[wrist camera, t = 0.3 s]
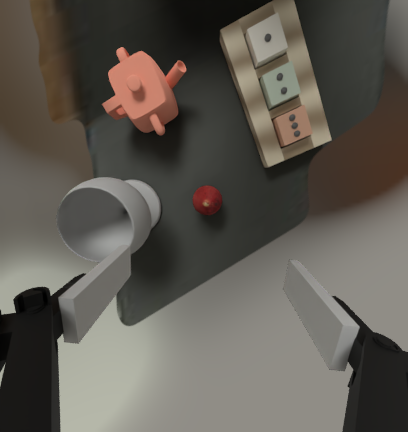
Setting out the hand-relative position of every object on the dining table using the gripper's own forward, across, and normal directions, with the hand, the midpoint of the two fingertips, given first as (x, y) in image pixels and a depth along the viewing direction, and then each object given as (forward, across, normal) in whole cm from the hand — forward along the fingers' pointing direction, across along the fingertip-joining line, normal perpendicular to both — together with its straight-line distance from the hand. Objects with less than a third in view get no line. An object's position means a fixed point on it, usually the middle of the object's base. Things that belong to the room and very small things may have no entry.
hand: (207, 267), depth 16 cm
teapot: (+27, -12, +19) cm, 35 cm away
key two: (+25, +10, +22) cm, 35 cm away
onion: (+27, -1, +2) cm, 27 cm away
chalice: (+27, -17, -2) cm, 32 cm away
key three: (+25, +13, +16) cm, 33 cm away
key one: (+25, +7, +28) cm, 39 cm away
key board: (+27, +10, +22) cm, 36 cm away
